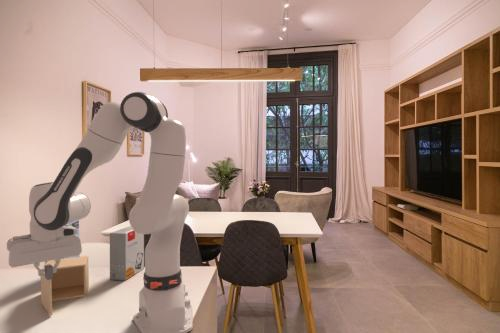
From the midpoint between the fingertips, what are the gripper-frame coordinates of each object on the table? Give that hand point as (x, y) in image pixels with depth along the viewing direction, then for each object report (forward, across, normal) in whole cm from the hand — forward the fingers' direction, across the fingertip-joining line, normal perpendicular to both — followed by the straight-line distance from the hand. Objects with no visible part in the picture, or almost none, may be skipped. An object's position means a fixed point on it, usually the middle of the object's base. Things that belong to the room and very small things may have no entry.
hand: (47, 273), depth 106 cm
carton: (+14, +8, +15) cm, 22 cm away
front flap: (+13, 0, +5) cm, 14 cm away
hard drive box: (+14, +33, +20) cm, 41 cm away
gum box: (+14, +11, +36) cm, 40 cm away
